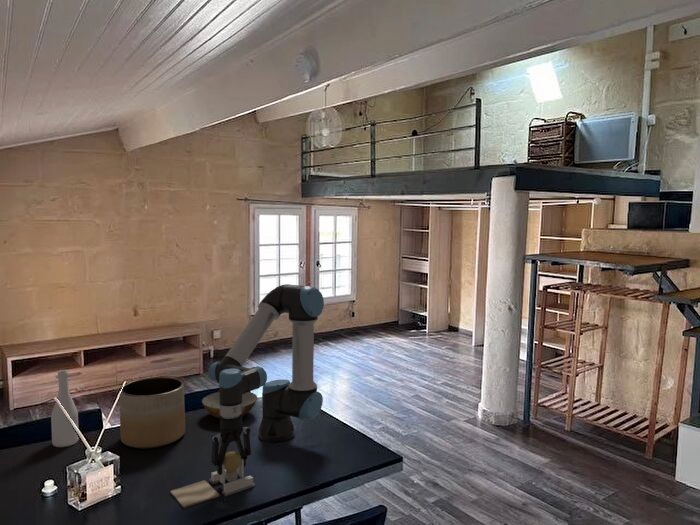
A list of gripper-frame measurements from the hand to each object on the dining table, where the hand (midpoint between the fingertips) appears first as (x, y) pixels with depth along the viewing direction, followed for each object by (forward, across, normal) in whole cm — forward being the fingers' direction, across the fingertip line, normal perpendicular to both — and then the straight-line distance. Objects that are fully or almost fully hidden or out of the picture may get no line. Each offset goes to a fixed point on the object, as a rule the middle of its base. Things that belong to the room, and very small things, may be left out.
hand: (231, 479), depth 182 cm
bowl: (+2, +27, +58) cm, 64 cm away
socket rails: (+2, 0, 0) cm, 2 cm away
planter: (+2, -9, +55) cm, 56 cm away
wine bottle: (+2, -39, +71) cm, 81 cm away
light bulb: (+1, 0, 0) cm, 1 cm away
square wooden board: (+2, -13, +1) cm, 13 cm away
